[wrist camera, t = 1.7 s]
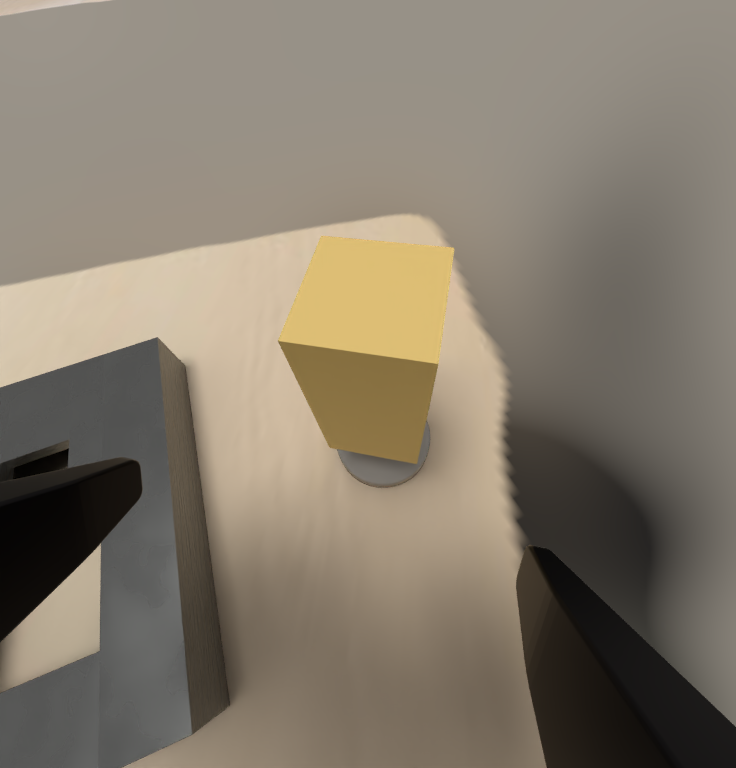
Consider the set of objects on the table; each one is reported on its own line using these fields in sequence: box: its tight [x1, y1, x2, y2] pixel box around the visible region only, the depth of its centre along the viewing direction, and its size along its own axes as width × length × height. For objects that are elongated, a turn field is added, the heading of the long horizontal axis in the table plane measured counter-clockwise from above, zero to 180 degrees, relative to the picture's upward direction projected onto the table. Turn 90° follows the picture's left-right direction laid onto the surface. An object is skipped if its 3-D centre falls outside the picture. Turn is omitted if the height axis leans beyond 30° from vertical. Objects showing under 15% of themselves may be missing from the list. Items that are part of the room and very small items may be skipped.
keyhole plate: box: [0, 337, 230, 768], centre depth 18 cm, size 20×14×3 cm
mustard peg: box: [278, 236, 454, 487], centre depth 16 cm, size 6×6×13 cm
